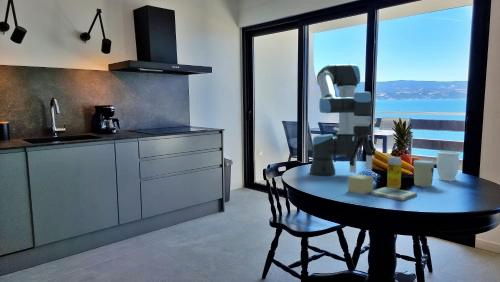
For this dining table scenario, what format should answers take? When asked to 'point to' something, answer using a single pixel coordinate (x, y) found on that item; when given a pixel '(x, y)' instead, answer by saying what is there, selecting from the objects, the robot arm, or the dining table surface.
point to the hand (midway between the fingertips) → (361, 170)
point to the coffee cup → (423, 173)
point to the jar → (447, 165)
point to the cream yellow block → (360, 184)
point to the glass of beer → (394, 172)
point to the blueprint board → (393, 193)
